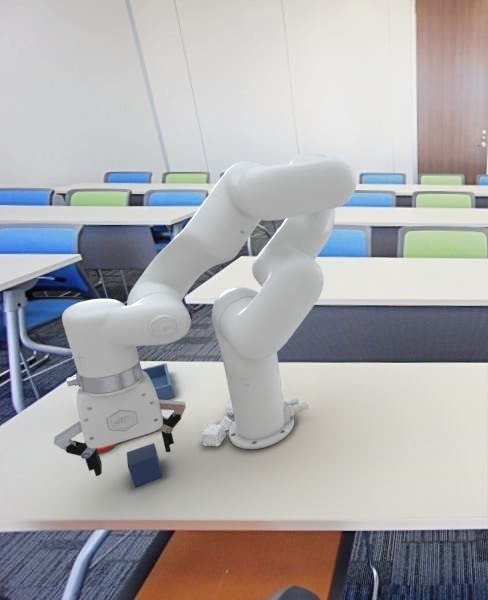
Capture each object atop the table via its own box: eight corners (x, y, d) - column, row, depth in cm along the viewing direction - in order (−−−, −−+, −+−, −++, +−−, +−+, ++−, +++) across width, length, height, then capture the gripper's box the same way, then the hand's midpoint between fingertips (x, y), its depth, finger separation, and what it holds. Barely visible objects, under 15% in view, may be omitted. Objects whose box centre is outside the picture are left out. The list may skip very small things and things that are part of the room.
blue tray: (169, 374, 101) (166, 362, 99) (175, 397, 93) (171, 384, 91) (102, 392, 93) (97, 380, 92) (101, 418, 85) (97, 405, 84)
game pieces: (219, 447, 79) (217, 434, 78) (203, 446, 79) (199, 434, 78) (247, 408, 90) (244, 396, 89) (232, 408, 90) (229, 396, 89)
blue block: (160, 463, 75) (154, 442, 73) (162, 477, 72) (156, 456, 70) (134, 473, 73) (126, 452, 71) (135, 487, 70) (127, 466, 68)
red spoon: (169, 420, 86) (167, 416, 85) (171, 430, 83) (169, 425, 83) (93, 444, 78) (91, 440, 78) (93, 456, 76) (91, 451, 75)
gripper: (33, 405, 56) (66, 496, 62) (179, 371, 66) (195, 451, 72) (39, 379, 61) (69, 465, 67) (174, 351, 72) (189, 428, 78)
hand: (134, 458), depth 70 cm, fingers open, 9 cm apart
